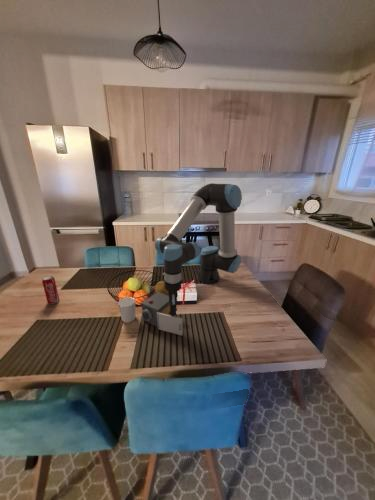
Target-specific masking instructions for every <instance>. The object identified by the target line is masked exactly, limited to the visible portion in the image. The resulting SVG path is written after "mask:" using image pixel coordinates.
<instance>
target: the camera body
mask: <svg viewBox="0 0 375 500" xmlns="http://www.w3.org/2000/svg"><path fill="white" fill-rule="evenodd" d="M157 312H159V313H163V314H167V315H170V314H169V312H170V302H169V295H168V296H167V295H165V294H162V293H160V292H157V293H155V292H154V294H153V295H150V296H149V297H148V298H146V299H145V300H144V301H143V302H141V316H142V320H143V321H144V322H147V323H148V324H150V325H152V326H155V327H156V328H158V327H157Z"/></svg>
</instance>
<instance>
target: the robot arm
mask: <svg viewBox="0 0 375 500" xmlns="http://www.w3.org/2000/svg"><path fill="white" fill-rule="evenodd" d="M242 197H243V195H242V190H241V188H240V187H239V185H237V184H233V183H207V184H205V185H204V186H202V187H201V188H199V189H198V190H197V191H195V193H193V195H192V197H190V202H189V203H188V205H187V206H186V208H185V209H184V210H183V212H182V213H181V215H179V217H178V218H177V220H176V221H175V223H173V225H172V226H171V228H170V229H169V230H168V232H167V233H166V235H165V236H162V237H161V236H159V237H158V238H156V240H155V242H154V249H155V250H156V251H157V252H158V253H160V254H162V255H163V271H164V272H162V276H164V279H163V281H164V288H165V289H166V290H167V291H168V293H169V295H168V296H169V302H170V312H169V314H170V315H171V316H175V317H177V311H178V309H177V304H178V291H180V290H181V289H182V285H183V283H182V278H183V265H184V264H186V263H188V262H190V261H192V260H194V259H196V258H197V257H198V256H199V255H200V266H199V267H200V269H199V271H198V274H197V280H198V281H199V282H200V281H201V282H200V283H202V282H203V283H202V284H205V283H206V284H205V285H213V284H217V283H219V281H220V274H219V273H220V272H219V270H220V271H224V272H225V273H226V272H227V273H231V274H235V273H236V272H237V271H238V269H239V267H240V265H241V262H242V256H241V255H238V250H237V249H236V245H235V244H236V243H235V242H236V235H235V234H236V231H235V230H236V227H235V226H236V224H235V222H236V221H235V213H236V212H237V211H238V208H239V207H240V206H241V204H242V199H243V198H242ZM208 206H215V207H214V208H215V212H216V213H217V214H218V226H219V228H218V229H219V244H220V245H219V247H220V248H219V247H218V246H215V245H207V246H204V247H202V248H201V249H200V246H199V245H198V243H196V242H194V241H192V242H191V241H190V242H186V243H185V242H182V241H181V240H182V239H183V238H184V236H185V235H186V233H187V232H188V230H189V229H190V228H191V226H192V225H193V224H194V222H195V221H196V219H197V217H198V216H199V215H200V214H201V212H202V211H203V210H205V209H206V208H207V207H208Z"/></svg>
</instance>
